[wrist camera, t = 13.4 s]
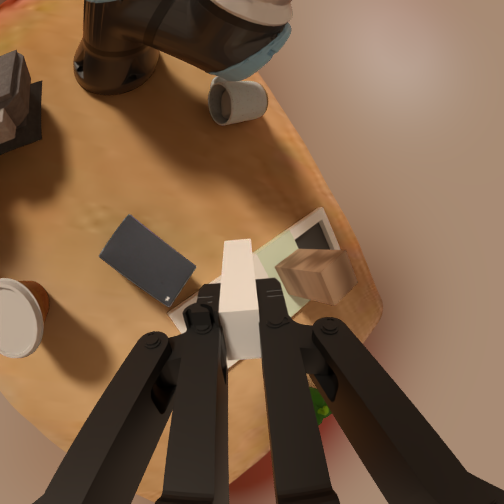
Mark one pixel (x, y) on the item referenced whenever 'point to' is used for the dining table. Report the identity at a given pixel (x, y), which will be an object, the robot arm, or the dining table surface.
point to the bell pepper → (319, 405)
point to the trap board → (278, 260)
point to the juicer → (18, 104)
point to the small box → (147, 261)
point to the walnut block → (317, 274)
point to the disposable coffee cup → (21, 317)
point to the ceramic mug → (236, 101)
